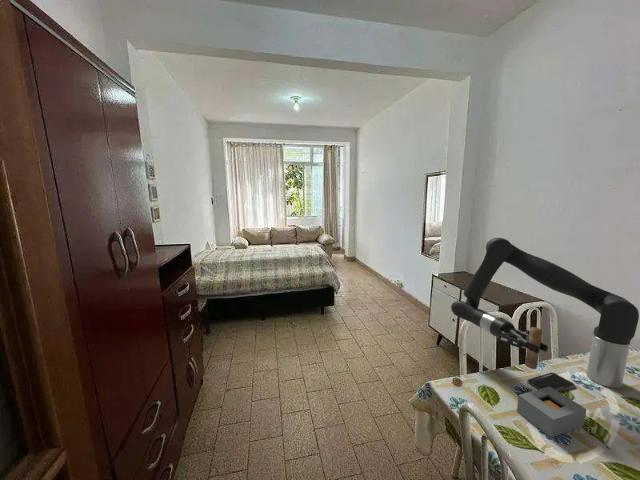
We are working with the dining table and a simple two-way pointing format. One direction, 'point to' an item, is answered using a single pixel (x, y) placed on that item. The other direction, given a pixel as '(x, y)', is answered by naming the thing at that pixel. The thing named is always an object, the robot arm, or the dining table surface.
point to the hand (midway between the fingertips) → (542, 349)
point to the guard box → (551, 411)
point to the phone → (551, 382)
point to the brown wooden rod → (536, 340)
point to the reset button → (551, 404)
